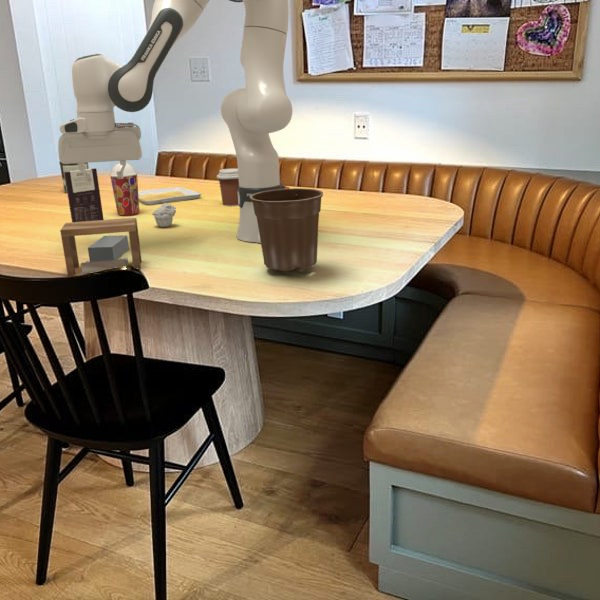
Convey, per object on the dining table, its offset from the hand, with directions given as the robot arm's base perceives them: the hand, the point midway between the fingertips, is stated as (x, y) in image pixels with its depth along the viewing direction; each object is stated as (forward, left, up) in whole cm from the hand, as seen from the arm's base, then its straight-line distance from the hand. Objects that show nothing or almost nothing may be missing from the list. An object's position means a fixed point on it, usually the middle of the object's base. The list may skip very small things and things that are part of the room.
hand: (104, 179), depth 163 cm
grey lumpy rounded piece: (-14, -18, -18) cm, 28 cm away
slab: (0, +11, -18) cm, 21 cm away
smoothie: (-2, -38, -18) cm, 41 cm away
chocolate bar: (+8, -18, -18) cm, 26 cm away
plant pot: (-42, +33, -18) cm, 56 cm away
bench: (0, +22, -17) cm, 28 cm away
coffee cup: (-36, -45, -18) cm, 60 cm away
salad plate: (-13, -63, -18) cm, 66 cm away
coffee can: (+19, -83, -18) cm, 86 cm away
